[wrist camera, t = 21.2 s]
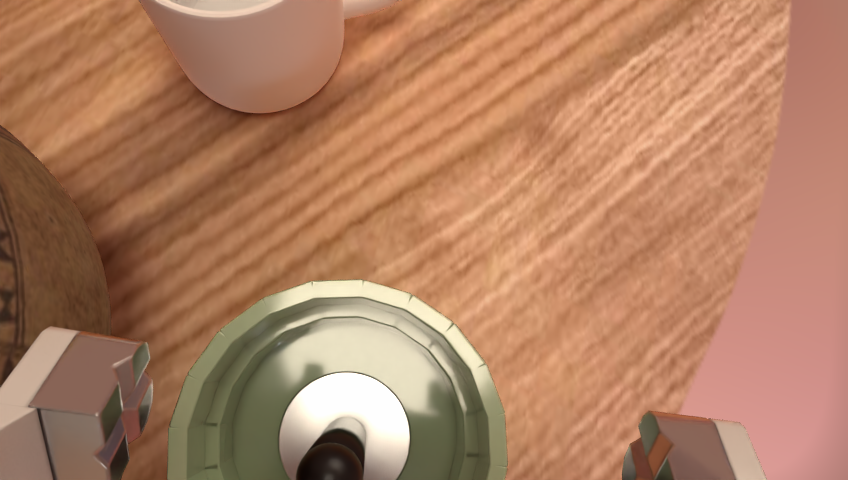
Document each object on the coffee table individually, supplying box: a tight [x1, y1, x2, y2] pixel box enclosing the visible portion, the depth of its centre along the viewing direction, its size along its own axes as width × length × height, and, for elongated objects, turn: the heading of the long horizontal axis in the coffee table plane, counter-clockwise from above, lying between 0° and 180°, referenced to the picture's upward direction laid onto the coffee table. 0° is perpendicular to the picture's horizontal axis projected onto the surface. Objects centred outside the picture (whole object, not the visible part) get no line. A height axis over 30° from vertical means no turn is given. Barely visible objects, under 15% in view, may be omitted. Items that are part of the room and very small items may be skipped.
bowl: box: [167, 279, 508, 480], centre depth 29 cm, size 12×12×6 cm
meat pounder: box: [278, 371, 411, 480], centre depth 25 cm, size 6×6×14 cm
